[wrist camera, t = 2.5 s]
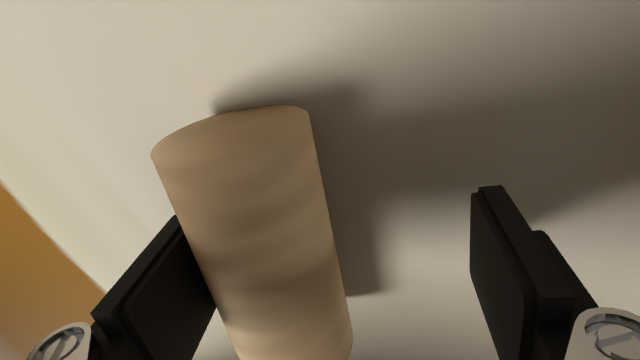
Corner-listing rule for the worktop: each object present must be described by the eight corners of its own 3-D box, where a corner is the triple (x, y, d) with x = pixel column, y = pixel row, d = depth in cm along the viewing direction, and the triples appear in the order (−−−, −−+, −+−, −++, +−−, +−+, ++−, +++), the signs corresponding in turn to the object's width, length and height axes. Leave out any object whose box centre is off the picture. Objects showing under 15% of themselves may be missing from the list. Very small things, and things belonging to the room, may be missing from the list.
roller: (283, 96, 11) (153, 132, 10) (334, 126, 8) (146, 185, 7) (326, 283, 15) (233, 323, 14) (373, 359, 11) (255, 420, 10)
